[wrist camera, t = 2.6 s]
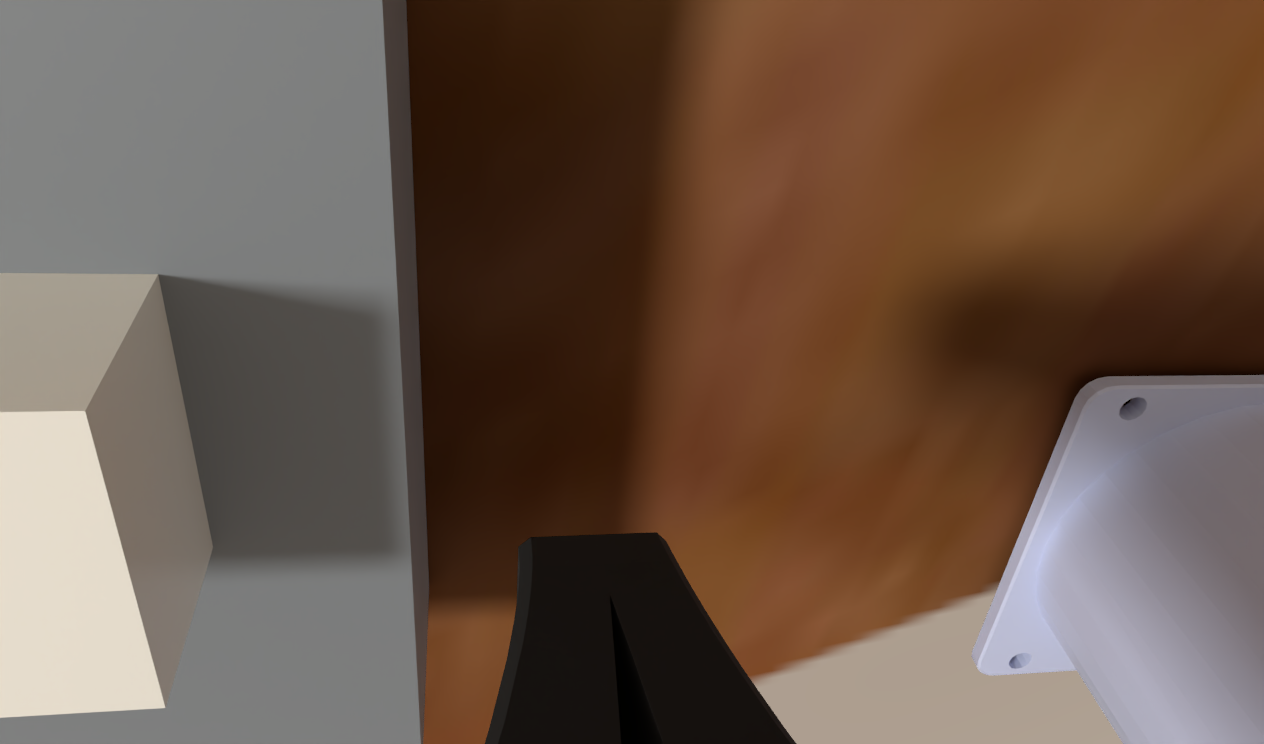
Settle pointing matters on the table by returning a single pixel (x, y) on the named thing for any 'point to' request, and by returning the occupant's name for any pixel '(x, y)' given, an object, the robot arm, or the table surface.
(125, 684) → the tile
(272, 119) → the grey rectangular block
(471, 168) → the table surface
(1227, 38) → the table surface
